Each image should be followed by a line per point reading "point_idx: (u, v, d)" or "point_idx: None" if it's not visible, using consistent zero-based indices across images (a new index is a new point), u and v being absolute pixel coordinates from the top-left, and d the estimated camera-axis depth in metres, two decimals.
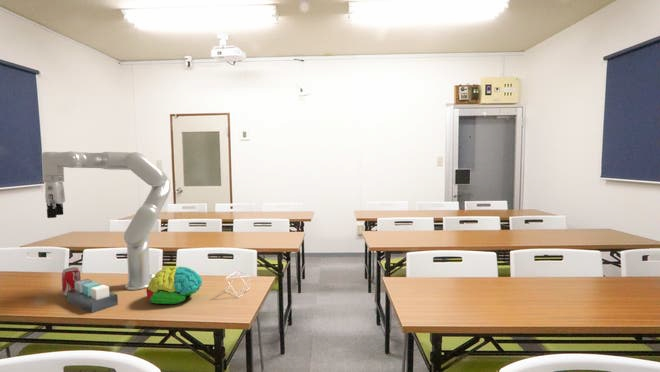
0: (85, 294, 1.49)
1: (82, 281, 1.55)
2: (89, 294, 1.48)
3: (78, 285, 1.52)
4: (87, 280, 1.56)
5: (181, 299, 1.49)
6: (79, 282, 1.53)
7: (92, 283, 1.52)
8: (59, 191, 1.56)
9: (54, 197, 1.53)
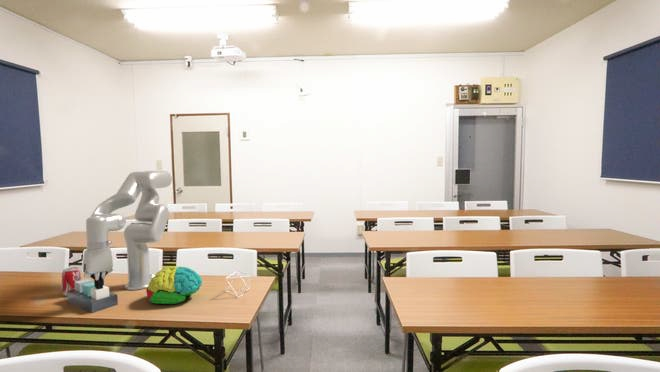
0: (85, 294, 1.49)
1: (82, 281, 1.55)
2: (89, 294, 1.48)
3: (78, 285, 1.52)
4: (87, 280, 1.56)
5: (181, 299, 1.49)
6: (79, 282, 1.53)
7: (92, 283, 1.52)
8: None
9: None
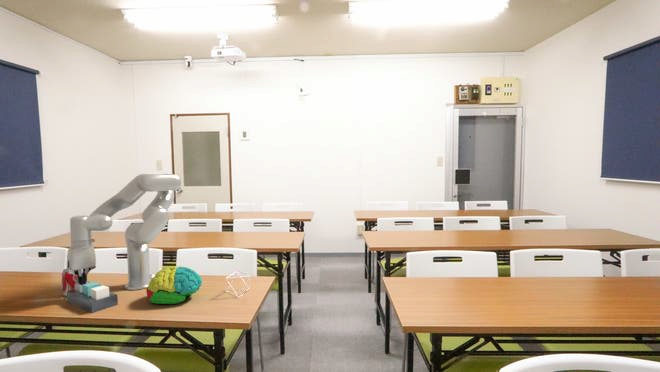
0: (85, 294, 1.49)
1: None
2: (89, 294, 1.48)
3: (78, 288, 1.52)
4: (87, 282, 1.56)
5: (181, 299, 1.49)
6: (79, 285, 1.53)
7: (92, 283, 1.52)
8: None
9: None
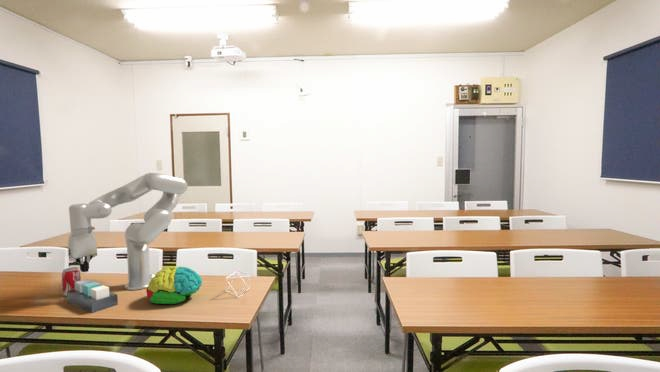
0: (85, 294, 1.49)
1: (82, 281, 1.55)
2: (89, 294, 1.48)
3: (78, 286, 1.52)
4: (87, 280, 1.56)
5: (181, 299, 1.49)
6: (79, 282, 1.53)
7: (92, 283, 1.52)
8: None
9: None
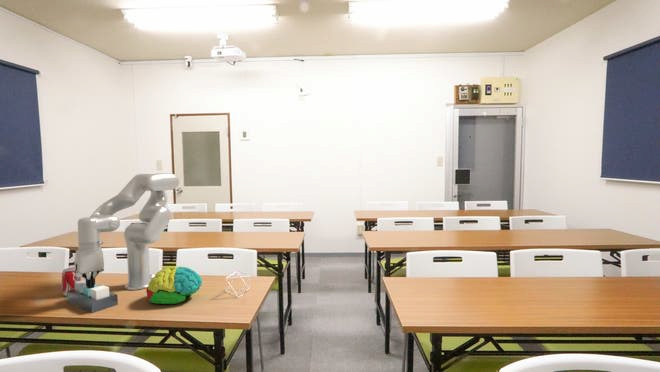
0: None
1: (82, 281, 1.55)
2: None
3: (78, 286, 1.52)
4: None
5: (181, 299, 1.49)
6: (79, 282, 1.53)
7: None
8: None
9: None
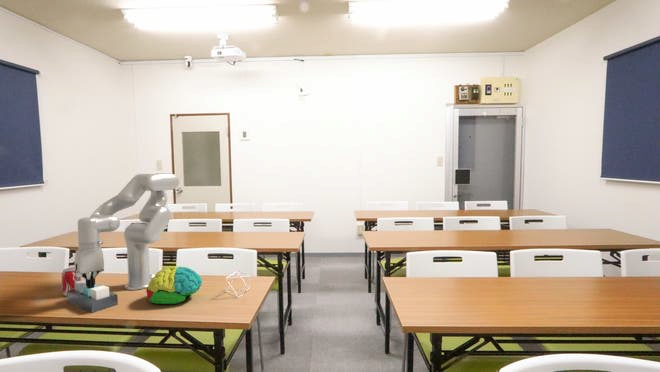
0: None
1: (82, 281, 1.55)
2: None
3: (78, 286, 1.52)
4: None
5: (181, 299, 1.49)
6: (79, 282, 1.53)
7: None
8: None
9: None
